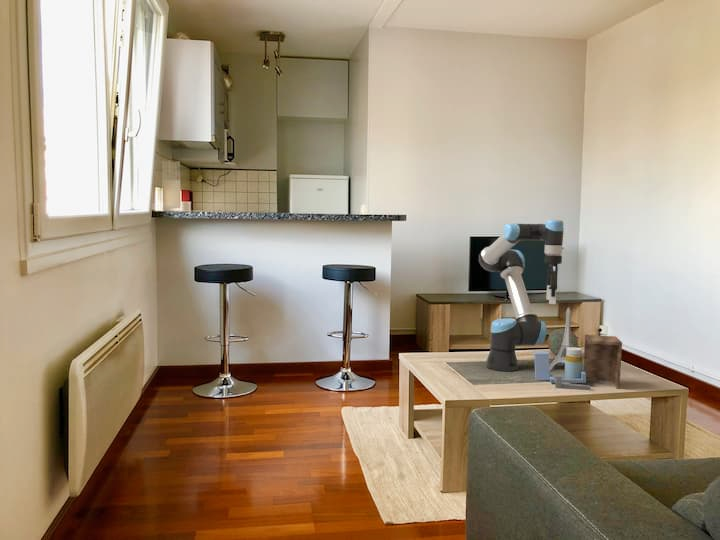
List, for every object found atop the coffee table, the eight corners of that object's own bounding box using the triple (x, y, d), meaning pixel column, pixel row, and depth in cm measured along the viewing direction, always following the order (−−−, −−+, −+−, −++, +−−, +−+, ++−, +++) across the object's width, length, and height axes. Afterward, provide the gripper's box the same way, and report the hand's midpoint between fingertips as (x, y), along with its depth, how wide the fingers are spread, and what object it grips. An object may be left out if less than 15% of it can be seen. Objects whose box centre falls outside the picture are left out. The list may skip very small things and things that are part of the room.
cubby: (587, 386, 254) (589, 340, 252) (582, 378, 266) (585, 334, 265) (619, 389, 251) (622, 342, 249) (613, 380, 264) (615, 336, 262)
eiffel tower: (546, 369, 283) (549, 307, 280) (558, 364, 293) (561, 304, 290) (573, 374, 274) (576, 310, 271) (584, 369, 284) (588, 307, 281)
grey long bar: (555, 387, 251) (556, 376, 251) (555, 386, 254) (555, 375, 253) (590, 390, 248) (591, 379, 248) (589, 389, 251) (590, 377, 250)
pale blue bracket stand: (536, 382, 259) (535, 355, 258) (534, 376, 269) (533, 350, 268) (586, 382, 254) (585, 355, 253) (582, 376, 264) (581, 350, 263)
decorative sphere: (549, 359, 302) (550, 330, 301) (544, 352, 317) (546, 325, 315) (579, 360, 300) (581, 331, 298) (573, 354, 314) (575, 326, 313)
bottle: (578, 379, 264) (579, 347, 263) (582, 384, 257) (584, 350, 256) (562, 379, 265) (563, 346, 263) (566, 383, 258) (568, 350, 256)
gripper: (565, 256, 250) (562, 306, 252) (558, 253, 274) (556, 298, 276) (546, 256, 251) (544, 305, 253) (542, 252, 276) (540, 297, 278)
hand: (550, 301), depth 265 cm, fingers open, 13 cm apart
